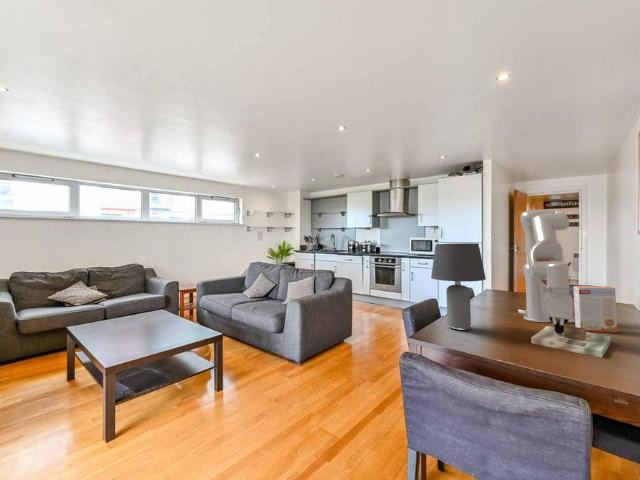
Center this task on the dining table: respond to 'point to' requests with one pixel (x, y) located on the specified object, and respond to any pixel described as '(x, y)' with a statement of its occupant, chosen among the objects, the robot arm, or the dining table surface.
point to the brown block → (575, 333)
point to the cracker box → (595, 308)
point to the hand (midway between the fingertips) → (559, 333)
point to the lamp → (458, 278)
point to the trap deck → (573, 342)
